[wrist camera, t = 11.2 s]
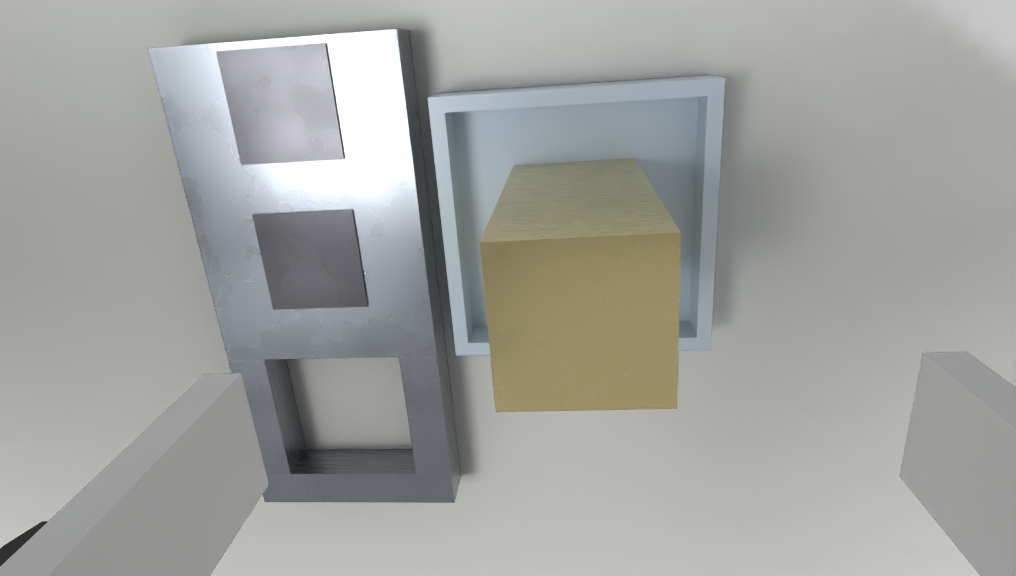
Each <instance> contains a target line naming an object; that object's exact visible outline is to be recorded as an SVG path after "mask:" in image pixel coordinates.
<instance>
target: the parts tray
mask: <svg viewBox="0 0 1016 576" xmlns="http://www.w3.org/2000/svg"><path fill="white" fill-rule="evenodd" d="M724 93H725V78H724V77H719V76H714V75H701V76H686V77H671V78H656V79H641V80H626V81H611V82H596V83H581V84H566V85H551V86H536V87H521V88H506V89H492V90H477V91H462V92H447V93H438V94H436V95H433V96H430V97H428V107H429V116H430V125H431V134H432V143H433V152H434V161H435V170H436V179H437V188H438V197H439V207H440V216H441V225H442V234H443V243H444V252H445V261H446V270H447V279H448V288H449V297H450V306H451V315H452V325H453V334H454V343H455V352H456V356H458V355H490V345H489V335H488V325H487V315H486V304H485V294H484V284H483V273H482V263H481V253H480V240H481V238H482V236H483V234H484V231H485V229H486V227H487V224H488V222H489V220H490V218H491V215H492V213H493V211H494V209H495V206H496V204H497V202H498V199H499V197H500V195H501V193H502V190H503V188H504V186H505V183H506V181H507V179H508V177H509V174H510V172H511V170H512V167H513V165H529V164H545V163H561V162H577V161H593V160H609V159H625V158H635V159H636V161H637V163H638V164H639V166H640V167H641V169H642V171H643V172H644V174H645V175H646V177H647V179H648V180H649V182H650V183H651V185H652V187H653V188H654V190H655V192H656V193H657V195H658V196H659V198H660V200H661V201H662V203H663V204H664V206H665V208H666V209H667V211H668V213H669V214H670V216H671V217H672V219H673V221H674V222H675V224H676V225H677V227H678V229H679V230H680V232H681V257H680V300H679V343H678V351H689V350H711V335H712V316H713V298H714V279H715V261H716V242H717V223H718V205H719V186H720V168H721V149H722V130H723V112H724Z"/></svg>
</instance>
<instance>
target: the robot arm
mask: <svg viewBox="0 0 1016 576" xmlns="http://www.w3.org/2000/svg"><path fill="white" fill-rule="evenodd" d="M900 477H901V479H902V480H903V481H904V482H905V484H906V485H907V486H908V487H909V488H910V490H911V491H912V492H913V493H914V495H915V496H916V497H917V498H918V500H919V501H920V502H921V503H922V505H923V506H924V507H925V508H926V509H927V511H928V512H929V513H930V514H931V516H932V517H933V518H934V519H935V521H936V522H937V523H938V524H939V525H940V527H941V528H942V529H943V530H944V532H945V533H946V534H947V535H948V537H949V538H950V539H951V540H952V542H953V543H954V544H955V545H956V546H957V548H958V549H959V550H960V551H961V553H962V554H963V555H964V556H965V558H966V559H967V560H968V561H969V563H970V564H971V565H972V566H973V567H974V569H975V570H976V571H977V572H978V574H979V575H980V576H1016V387H1014V386H1013V385H1012V384H1010V383H1009V382H1008V381H1006V380H1005V379H1003V378H1002V377H1001V376H999V375H998V374H997V373H995V372H994V371H993V370H991V369H990V368H988V367H987V366H986V365H984V364H983V363H982V362H980V361H979V360H978V359H976V358H975V357H973V356H972V355H971V354H969V353H968V352H937V353H923V355H922V360H921V365H920V371H919V376H918V381H917V386H916V392H915V397H914V402H913V407H912V413H911V418H910V423H909V428H908V434H907V439H906V444H905V449H904V455H903V460H902V465H901V470H900ZM268 485H269V483H268V479H267V475H266V471H265V467H264V463H263V459H262V455H261V451H260V447H259V443H258V439H257V435H256V431H255V427H254V423H253V419H252V415H251V411H250V407H249V403H248V399H247V395H246V391H245V387H244V383H243V379H242V375H241V373H225V374H204V375H203V376H202V377H201V378H200V379H199V380H198V381H197V382H196V383H195V384H194V385H193V386H192V387H191V388H190V389H189V390H187V391H186V392H185V393H184V394H183V395H182V396H181V397H180V398H179V399H178V400H177V401H176V402H175V403H174V404H173V405H172V406H170V407H169V408H168V409H167V410H166V411H165V412H164V413H163V414H162V415H161V416H160V417H159V418H158V419H157V420H156V421H155V422H153V423H152V424H151V425H150V426H149V427H148V428H147V429H146V430H145V431H144V432H143V433H142V434H141V435H140V436H139V437H138V438H136V439H135V440H134V441H133V442H132V443H131V444H130V445H129V446H128V447H127V448H126V449H125V450H124V451H123V452H122V453H121V454H119V455H118V456H117V457H116V458H115V459H114V460H113V461H112V462H111V463H110V464H109V465H108V466H107V467H106V468H105V469H104V470H102V471H101V472H100V473H99V474H98V475H97V476H96V477H95V478H94V479H93V480H92V481H91V482H90V483H89V484H88V485H87V486H85V487H84V488H83V489H82V490H81V491H80V492H79V493H78V494H77V495H76V496H75V497H74V498H73V499H72V500H71V501H70V502H68V503H67V504H66V505H65V506H64V507H63V508H62V509H61V510H60V511H59V512H58V513H57V514H56V515H55V516H54V517H53V518H51V519H50V520H49V521H45V522H41V523H39V524H37V525H36V526H34V527H33V528H31V529H30V530H28V531H26V532H25V533H23V534H22V535H20V536H18V537H17V538H15V539H14V540H12V541H10V542H9V543H7V544H6V545H4V546H3V547H2V548H1V549H0V576H210V575H211V573H212V571H213V570H214V568H215V567H216V565H217V564H218V562H219V561H220V559H221V558H222V556H223V555H224V553H225V551H226V550H227V548H228V547H229V545H230V544H231V542H232V541H233V539H234V538H235V536H236V534H237V533H238V531H239V530H240V528H241V527H242V525H243V524H244V522H245V521H246V519H247V517H248V516H249V514H250V513H251V511H252V510H253V508H254V507H255V505H256V504H257V502H258V500H259V499H260V497H261V496H262V494H263V493H264V491H265V490H266V488H267V487H268Z"/></svg>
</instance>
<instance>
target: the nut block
mask: <svg viewBox="0 0 1016 576" xmlns="http://www.w3.org/2000/svg"><path fill="white" fill-rule="evenodd" d="M480 253H481V263H482V273H483V284H484V294H485V304H486V315H487V325H488V335H489V345H490V356H491V366H492V376H493V386H494V397H495V407H496V412H527V411H578V410H630V409H677V386H678V343H679V300H680V257H681V232H680V230H679V229H678V227H677V225H676V224H675V222H674V221H673V219H672V217H671V216H670V214H669V213H668V211H667V209H666V208H665V206H664V204H663V203H662V201H661V200H660V198H659V196H658V195H657V193H656V192H655V190H654V188H653V187H652V185H651V183H650V182H649V180H648V179H647V177H646V175H645V174H644V172H643V171H642V169H641V167H640V166H639V164H638V163H637V161H636V159H635V158H625V159H609V160H593V161H577V162H561V163H545V164H529V165H513V167H512V170H511V172H510V174H509V177H508V179H507V181H506V183H505V186H504V188H503V190H502V193H501V195H500V197H499V199H498V202H497V204H496V206H495V209H494V211H493V213H492V215H491V218H490V220H489V222H488V224H487V227H486V229H485V231H484V234H483V236H482V238H481V240H480Z"/></svg>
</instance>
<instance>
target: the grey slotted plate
mask: <svg viewBox="0 0 1016 576" xmlns="http://www.w3.org/2000/svg"><path fill="white" fill-rule="evenodd" d="M148 50H149V54H150V58H151V62H152V66H153V70H154V74H155V77H156V81H157V85H158V89H159V93H160V97H161V101H162V105H163V108H164V112H165V116H166V120H167V124H168V128H169V132H170V136H171V140H172V143H173V147H174V151H175V155H176V159H177V163H178V167H179V171H180V174H181V178H182V182H183V186H184V190H185V194H186V198H187V202H188V206H189V209H190V213H191V217H192V221H193V225H194V229H195V233H196V237H197V240H198V244H199V248H200V252H201V256H202V260H203V264H204V268H205V272H206V275H207V279H208V283H209V287H210V291H211V295H212V299H213V303H214V306H215V310H216V314H217V318H218V322H219V326H220V330H221V334H222V338H223V341H224V345H225V349H226V353H227V357H228V361H229V365H230V369H231V372H232V373H241V375H242V379H243V383H244V387H245V391H246V395H247V399H248V403H249V407H250V411H251V415H252V419H253V423H254V427H255V431H256V435H257V439H258V443H259V447H260V451H261V455H262V459H263V463H264V467H265V471H266V475H267V479H268V483H269V485H268V487H267V488H266V490H265V491H264V493H263V497H264V501H265V502H450V503H455V499H456V495H457V491H458V486H459V482H460V478H461V474H460V465H459V457H458V448H457V440H456V431H455V422H454V414H453V405H452V396H451V388H450V379H449V371H448V362H447V353H446V345H445V336H444V328H443V319H442V310H441V302H440V293H439V284H438V276H437V267H436V259H435V250H434V241H433V233H432V224H431V216H430V207H429V198H428V190H427V181H426V172H425V164H424V155H423V147H422V138H421V129H420V121H419V112H418V104H417V95H416V86H415V78H414V69H413V61H412V52H411V43H410V35H409V30H402V29H389V30H376V31H364V32H351V33H338V34H325V35H313V36H300V37H287V38H275V39H262V40H249V41H236V42H224V43H211V44H198V45H186V46H173V47H160V48H148ZM359 357H399V360H400V367H401V373H402V380H403V387H404V394H405V401H406V407H407V414H408V421H409V428H410V435H411V441H412V448H413V449H411V450H306V448H305V444H304V439H303V434H302V430H301V425H300V421H299V416H298V412H297V407H296V403H295V398H294V394H293V389H292V385H291V380H290V375H289V371H288V366H287V362H286V359H313V358H359Z"/></svg>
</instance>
